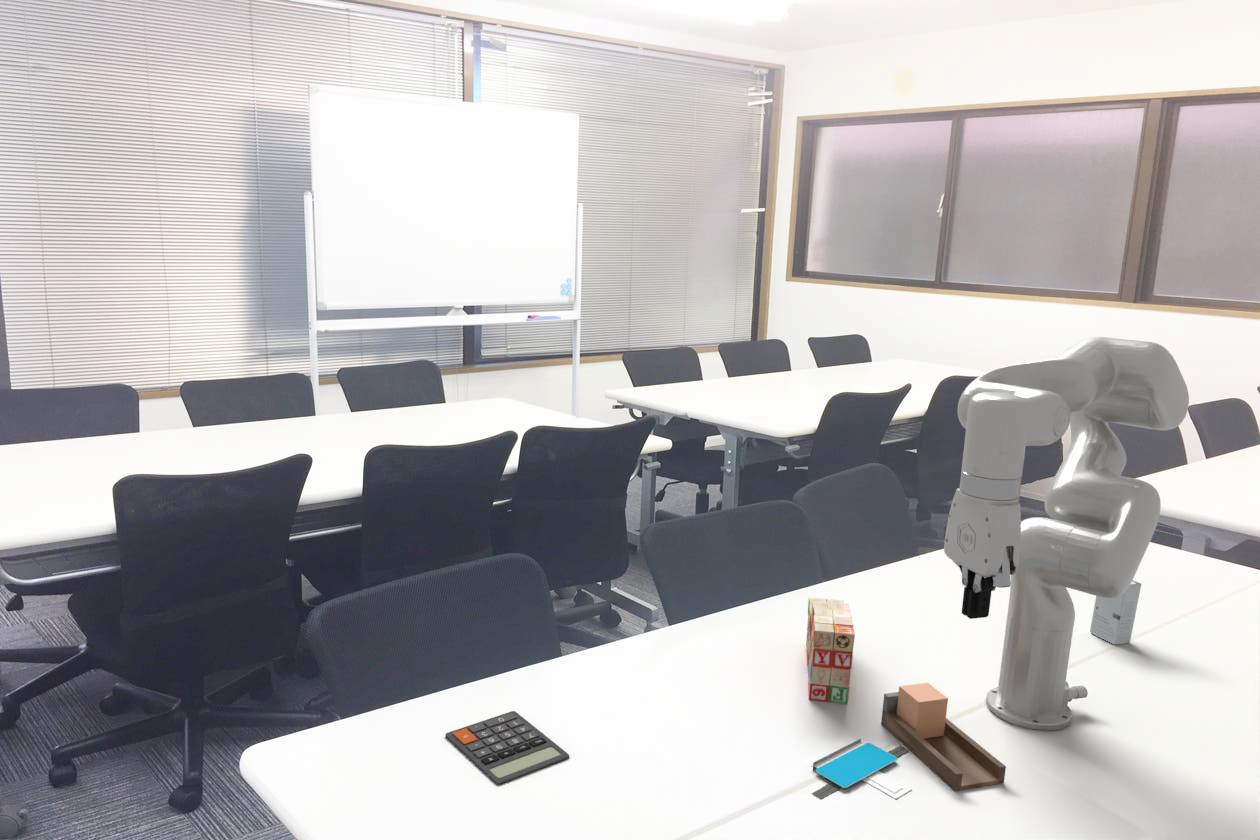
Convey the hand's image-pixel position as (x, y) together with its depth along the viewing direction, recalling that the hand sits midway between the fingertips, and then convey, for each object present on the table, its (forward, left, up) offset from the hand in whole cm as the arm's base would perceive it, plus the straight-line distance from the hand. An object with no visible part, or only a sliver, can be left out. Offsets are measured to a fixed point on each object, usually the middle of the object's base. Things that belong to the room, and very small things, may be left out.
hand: (974, 615), depth 127 cm
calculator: (+61, -20, -23) cm, 68 cm away
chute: (0, -4, -23) cm, 23 cm away
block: (0, -9, -23) cm, 24 cm away
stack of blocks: (+4, -30, -23) cm, 38 cm away
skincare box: (-57, -31, -23) cm, 69 cm away
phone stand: (+14, -1, -24) cm, 27 cm away
